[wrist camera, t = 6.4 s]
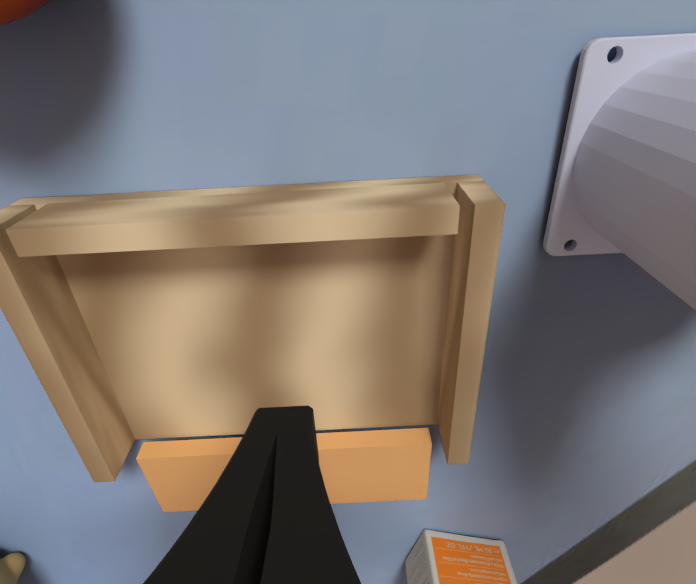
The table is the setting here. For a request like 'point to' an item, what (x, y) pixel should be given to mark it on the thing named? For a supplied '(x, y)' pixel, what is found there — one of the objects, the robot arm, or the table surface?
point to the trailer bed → (254, 307)
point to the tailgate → (334, 460)
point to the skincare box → (458, 560)
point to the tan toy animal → (11, 568)
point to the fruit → (18, 9)
